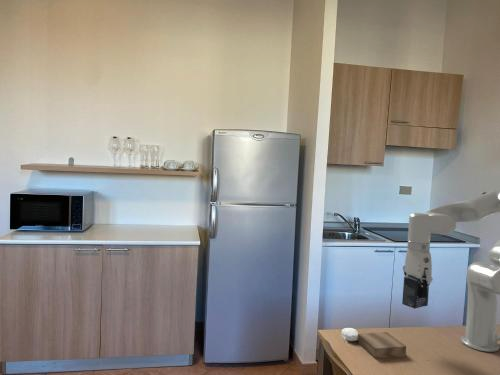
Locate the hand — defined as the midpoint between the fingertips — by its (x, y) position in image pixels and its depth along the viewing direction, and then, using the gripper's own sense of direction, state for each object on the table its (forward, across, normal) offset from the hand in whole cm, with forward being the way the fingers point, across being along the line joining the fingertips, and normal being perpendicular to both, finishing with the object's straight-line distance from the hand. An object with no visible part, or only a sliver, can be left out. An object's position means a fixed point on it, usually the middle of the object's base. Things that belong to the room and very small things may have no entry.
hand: (415, 293), depth 141 cm
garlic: (+20, +8, +21) cm, 30 cm away
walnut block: (+20, -1, +14) cm, 25 cm away
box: (+5, 0, 0) cm, 5 cm away
